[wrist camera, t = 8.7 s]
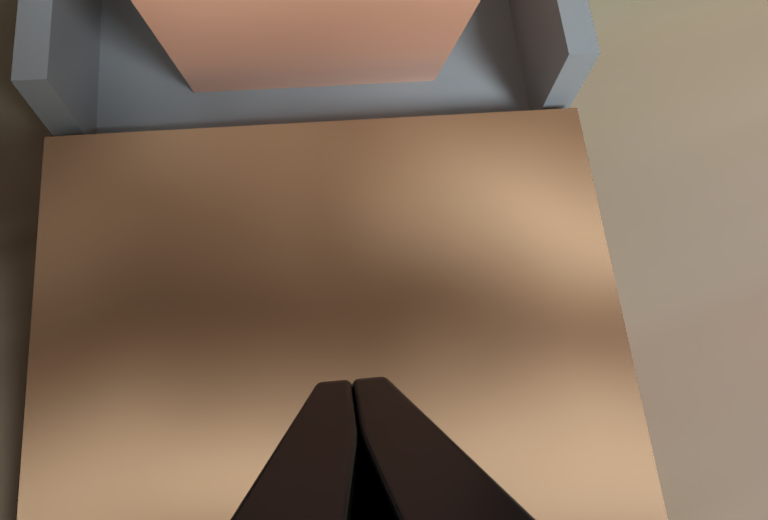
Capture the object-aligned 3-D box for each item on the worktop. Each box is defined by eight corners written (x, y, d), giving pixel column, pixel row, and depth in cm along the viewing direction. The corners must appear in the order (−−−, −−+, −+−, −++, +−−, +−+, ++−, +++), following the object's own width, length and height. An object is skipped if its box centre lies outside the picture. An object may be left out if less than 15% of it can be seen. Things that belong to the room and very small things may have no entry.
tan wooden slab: (645, 580, 17) (683, 590, 15) (46, 652, 16) (5, 671, 14) (555, 144, 21) (576, 107, 19) (72, 172, 20) (44, 137, 18)
